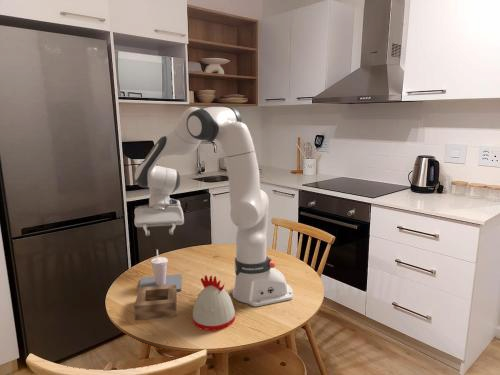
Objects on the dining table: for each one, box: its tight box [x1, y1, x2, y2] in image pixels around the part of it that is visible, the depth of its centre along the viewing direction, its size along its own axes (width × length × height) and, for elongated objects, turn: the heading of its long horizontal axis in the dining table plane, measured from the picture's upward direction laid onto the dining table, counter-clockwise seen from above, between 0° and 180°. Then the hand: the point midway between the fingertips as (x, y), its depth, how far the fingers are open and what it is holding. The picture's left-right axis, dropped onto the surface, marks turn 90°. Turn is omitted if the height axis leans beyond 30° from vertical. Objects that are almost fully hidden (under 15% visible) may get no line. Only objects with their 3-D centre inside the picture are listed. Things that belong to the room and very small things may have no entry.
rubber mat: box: [136, 273, 182, 295], centre depth 144 cm, size 16×13×1 cm
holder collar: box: [133, 285, 178, 321], centre depth 127 cm, size 13×13×5 cm
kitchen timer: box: [192, 275, 236, 332], centre depth 119 cm, size 14×14×15 cm
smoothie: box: [150, 249, 169, 285], centre depth 142 cm, size 6×6×14 cm
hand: (159, 234), depth 150 cm, fingers open, 8 cm apart
